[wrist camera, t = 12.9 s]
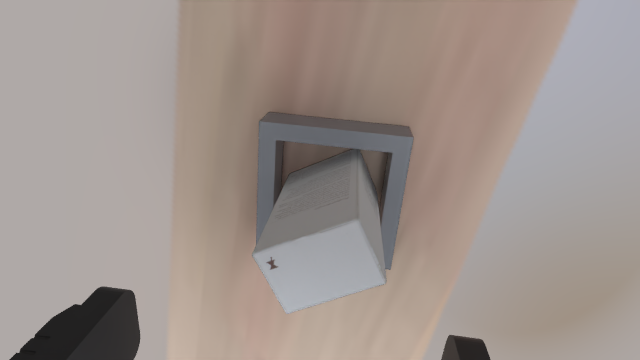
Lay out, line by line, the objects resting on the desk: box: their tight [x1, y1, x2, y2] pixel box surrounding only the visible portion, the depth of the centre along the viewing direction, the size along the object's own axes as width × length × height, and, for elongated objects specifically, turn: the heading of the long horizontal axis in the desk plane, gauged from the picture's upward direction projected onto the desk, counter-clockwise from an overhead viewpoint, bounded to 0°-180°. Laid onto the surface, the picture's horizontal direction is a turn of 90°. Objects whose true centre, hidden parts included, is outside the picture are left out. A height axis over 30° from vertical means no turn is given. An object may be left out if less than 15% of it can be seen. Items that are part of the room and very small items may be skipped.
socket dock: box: [256, 112, 414, 270], centre depth 30 cm, size 10×10×3 cm
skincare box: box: [252, 149, 386, 314], centre depth 26 cm, size 6×4×12 cm
